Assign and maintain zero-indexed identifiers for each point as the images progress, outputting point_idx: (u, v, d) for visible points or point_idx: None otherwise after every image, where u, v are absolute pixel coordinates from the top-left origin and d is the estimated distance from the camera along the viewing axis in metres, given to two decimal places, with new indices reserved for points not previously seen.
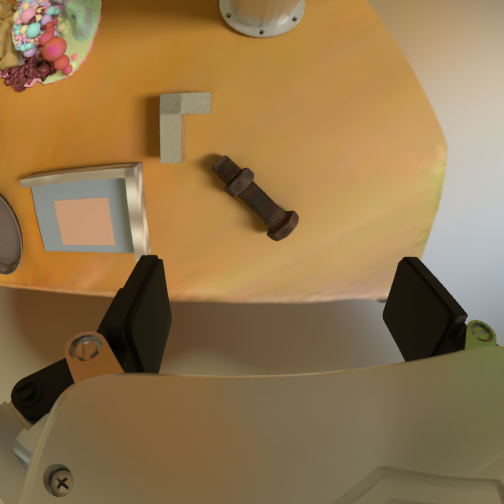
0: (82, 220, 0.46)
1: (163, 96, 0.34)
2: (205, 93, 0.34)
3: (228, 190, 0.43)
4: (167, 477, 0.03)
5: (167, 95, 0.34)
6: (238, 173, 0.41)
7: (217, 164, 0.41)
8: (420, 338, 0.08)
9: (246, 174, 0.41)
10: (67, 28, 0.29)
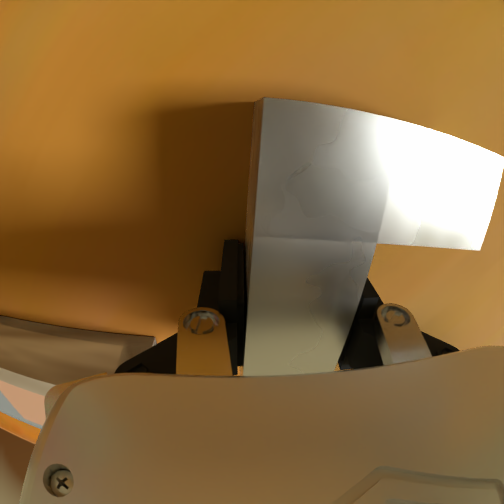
0: (42, 406, 0.17)
1: (288, 111, 0.05)
2: (490, 157, 0.06)
3: None
4: (167, 477, 0.03)
5: (316, 113, 0.05)
6: None
7: None
8: None
9: None
10: None
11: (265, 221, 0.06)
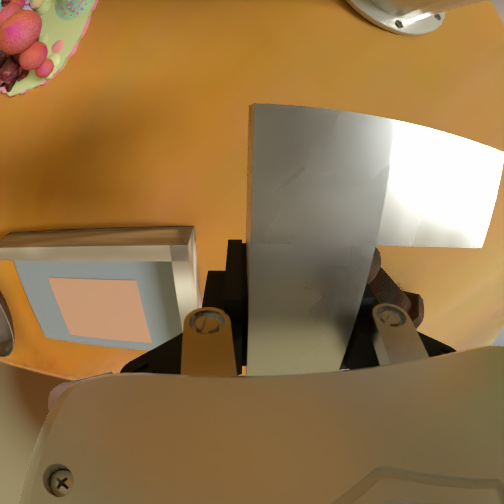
0: (96, 308, 0.30)
1: (279, 116, 0.05)
2: (489, 152, 0.05)
3: None
4: (167, 477, 0.03)
5: (308, 116, 0.05)
6: None
7: None
8: None
9: (374, 257, 0.25)
10: (47, 1, 0.14)
11: (261, 228, 0.06)
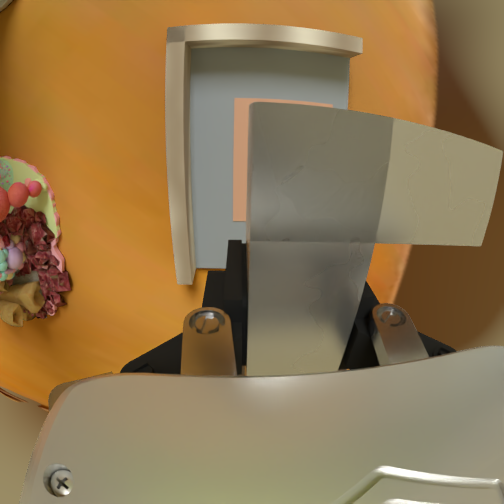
0: None
1: (279, 114, 0.05)
2: (488, 151, 0.05)
3: None
4: (167, 477, 0.03)
5: (307, 114, 0.05)
6: None
7: None
8: None
9: None
10: None
11: (261, 225, 0.06)
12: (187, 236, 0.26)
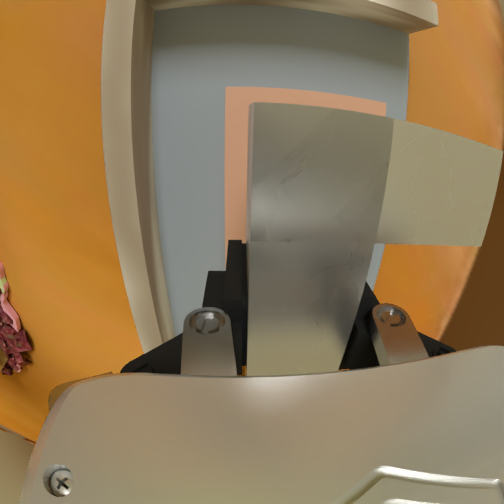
0: None
1: (278, 114, 0.05)
2: (488, 151, 0.05)
3: None
4: (167, 477, 0.03)
5: (307, 115, 0.05)
6: None
7: None
8: None
9: None
10: None
11: (261, 226, 0.06)
12: (155, 315, 0.16)
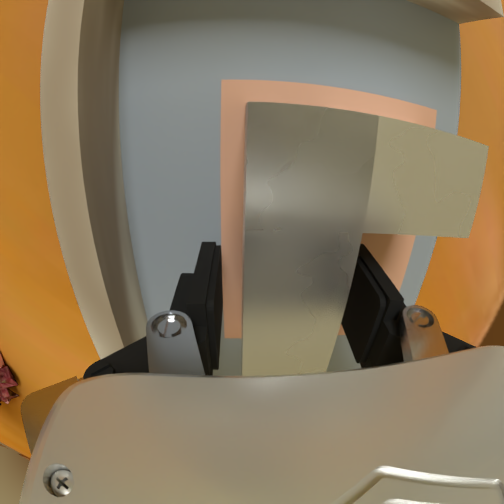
0: None
1: (271, 113, 0.06)
2: (473, 146, 0.06)
3: None
4: (167, 477, 0.03)
5: (297, 113, 0.06)
6: None
7: None
8: (361, 322, 0.09)
9: None
10: None
11: (255, 215, 0.07)
12: None
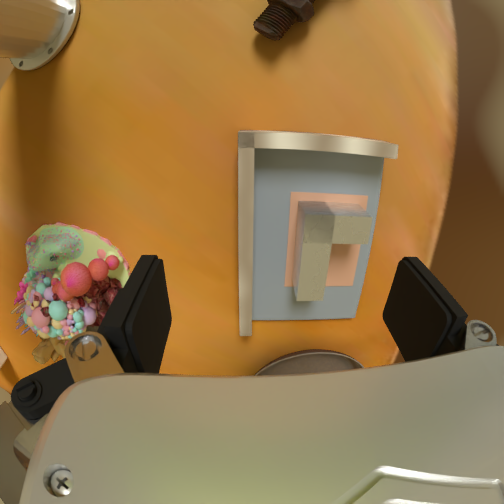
0: None
1: (310, 216, 0.27)
2: (366, 218, 0.27)
3: (305, 12, 0.20)
4: (167, 477, 0.03)
5: (316, 216, 0.27)
6: (275, 3, 0.20)
7: (267, 29, 0.21)
8: (421, 338, 0.08)
9: None
10: None
11: (305, 239, 0.29)
12: (251, 302, 0.34)
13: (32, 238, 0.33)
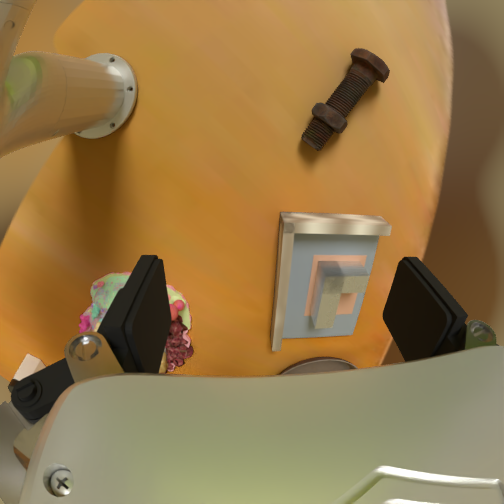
0: None
1: (328, 277, 0.41)
2: (365, 276, 0.41)
3: (341, 129, 0.33)
4: (167, 477, 0.03)
5: (332, 277, 0.41)
6: (320, 120, 0.33)
7: (313, 145, 0.34)
8: (421, 338, 0.08)
9: (319, 111, 0.32)
10: None
11: (324, 291, 0.42)
12: (282, 329, 0.47)
13: (100, 284, 0.45)
